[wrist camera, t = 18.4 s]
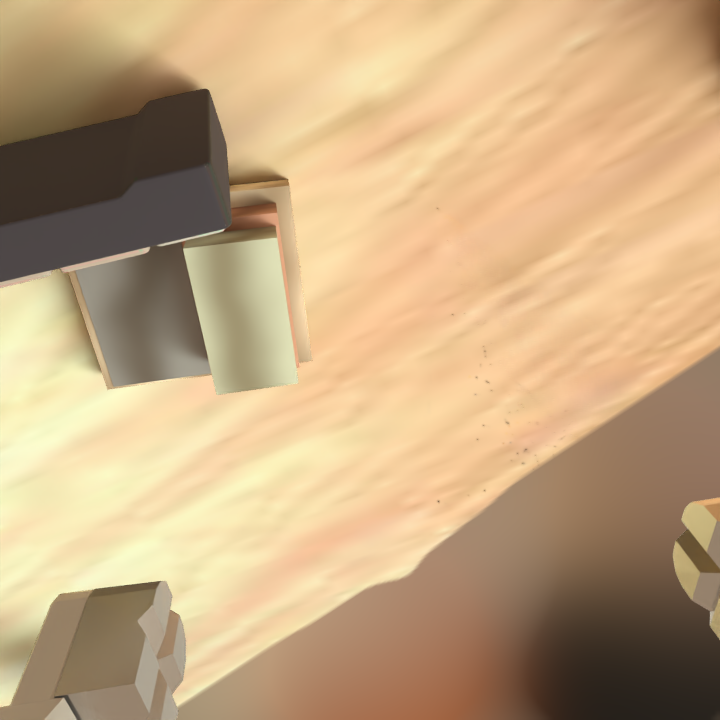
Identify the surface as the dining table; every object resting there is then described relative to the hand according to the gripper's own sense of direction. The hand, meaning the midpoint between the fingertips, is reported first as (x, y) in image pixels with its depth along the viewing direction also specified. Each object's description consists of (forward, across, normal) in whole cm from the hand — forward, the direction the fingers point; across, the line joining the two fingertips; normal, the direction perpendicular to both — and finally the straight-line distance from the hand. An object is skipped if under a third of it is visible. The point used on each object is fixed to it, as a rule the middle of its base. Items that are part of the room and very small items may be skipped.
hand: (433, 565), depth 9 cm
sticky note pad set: (+34, +10, +8) cm, 36 cm away
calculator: (+28, +21, 0) cm, 35 cm away
